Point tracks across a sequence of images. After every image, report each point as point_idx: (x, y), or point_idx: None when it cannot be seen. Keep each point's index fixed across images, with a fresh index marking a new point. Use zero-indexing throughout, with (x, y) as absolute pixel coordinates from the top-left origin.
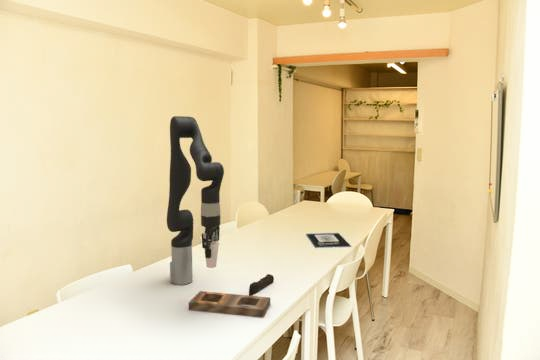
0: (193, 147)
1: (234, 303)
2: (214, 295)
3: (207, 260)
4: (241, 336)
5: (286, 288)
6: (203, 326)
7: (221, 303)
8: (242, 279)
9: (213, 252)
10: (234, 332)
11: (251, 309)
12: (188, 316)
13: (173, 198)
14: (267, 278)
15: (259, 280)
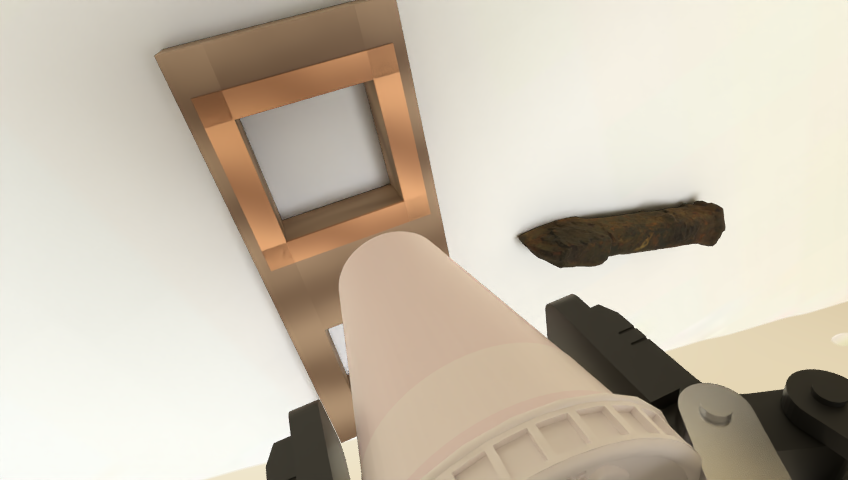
0: None
1: (332, 316)
2: (386, 136)
3: (346, 340)
4: (114, 471)
5: (632, 309)
6: (44, 293)
7: (291, 263)
8: (709, 71)
9: None
10: (122, 432)
11: (323, 403)
12: (75, 123)
13: None
14: (679, 244)
15: (648, 231)
